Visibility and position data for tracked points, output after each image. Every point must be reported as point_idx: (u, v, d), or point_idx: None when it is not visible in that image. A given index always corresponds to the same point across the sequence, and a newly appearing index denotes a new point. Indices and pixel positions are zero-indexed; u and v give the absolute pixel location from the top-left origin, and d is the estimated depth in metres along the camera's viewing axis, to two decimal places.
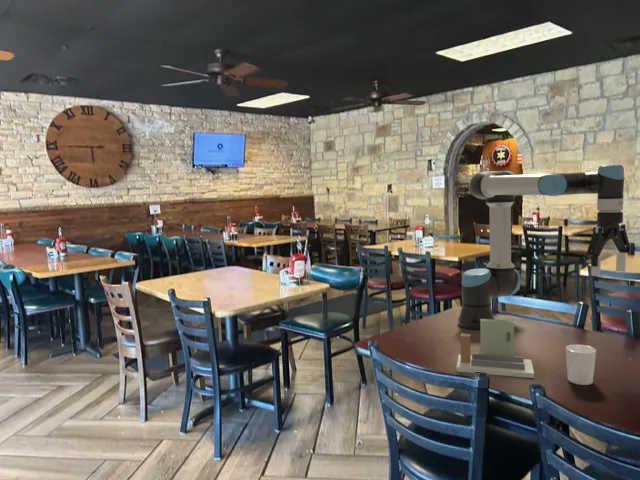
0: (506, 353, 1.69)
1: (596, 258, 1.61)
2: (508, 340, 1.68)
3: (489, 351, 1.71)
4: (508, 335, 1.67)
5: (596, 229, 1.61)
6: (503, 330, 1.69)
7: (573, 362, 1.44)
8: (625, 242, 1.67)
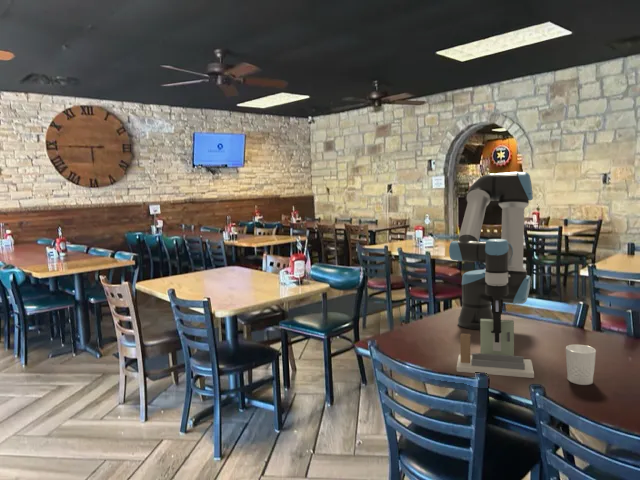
0: (506, 353, 1.69)
1: (499, 334, 1.68)
2: (508, 340, 1.68)
3: (489, 351, 1.71)
4: (508, 335, 1.67)
5: (497, 309, 1.64)
6: (503, 330, 1.69)
7: (573, 362, 1.44)
8: None
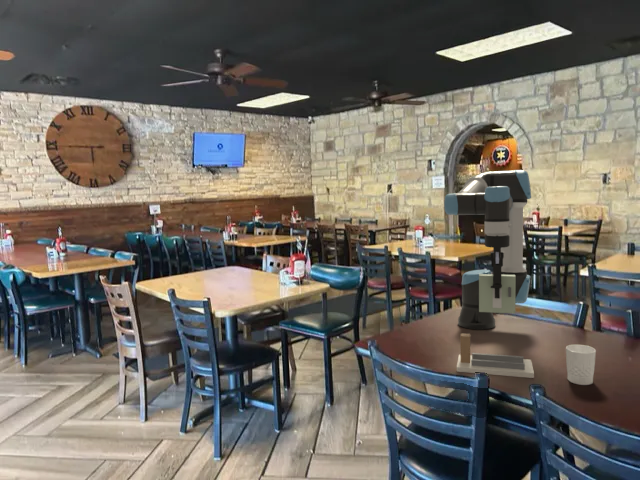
0: (507, 310, 1.56)
1: (499, 289, 1.55)
2: (509, 295, 1.54)
3: (489, 309, 1.57)
4: (509, 290, 1.54)
5: (497, 260, 1.50)
6: (504, 284, 1.55)
7: (573, 362, 1.44)
8: None
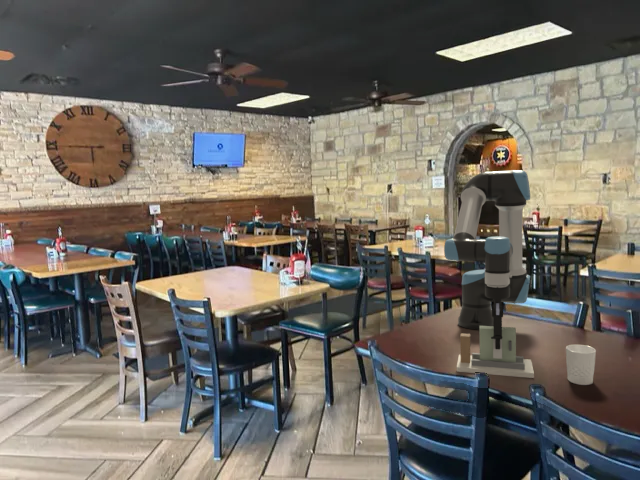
0: None
1: (500, 340, 1.54)
2: (510, 349, 1.54)
3: None
4: (510, 344, 1.54)
5: (497, 312, 1.50)
6: (504, 338, 1.55)
7: (573, 362, 1.44)
8: None
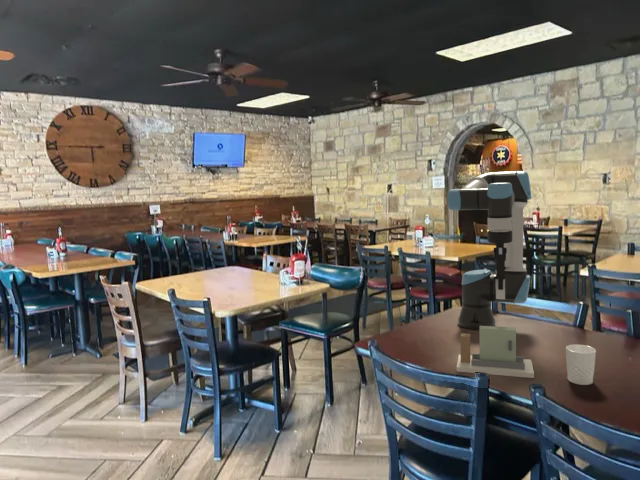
0: None
1: (502, 281, 1.53)
2: (510, 349, 1.54)
3: None
4: (510, 344, 1.54)
5: (500, 250, 1.53)
6: (504, 338, 1.55)
7: (573, 362, 1.44)
8: None
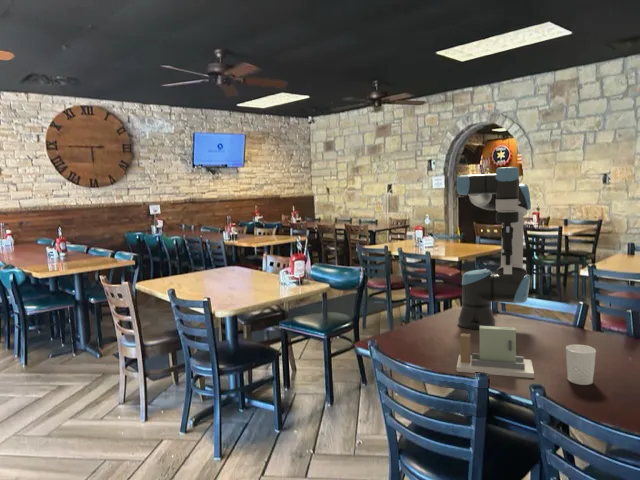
0: None
1: (510, 257, 1.65)
2: (510, 349, 1.54)
3: None
4: (510, 344, 1.54)
5: (507, 228, 1.65)
6: (504, 338, 1.55)
7: (573, 362, 1.44)
8: None
